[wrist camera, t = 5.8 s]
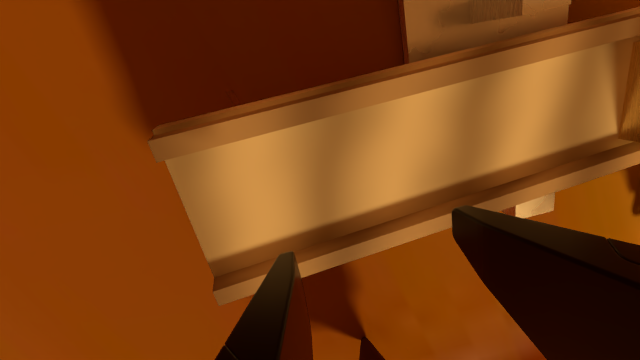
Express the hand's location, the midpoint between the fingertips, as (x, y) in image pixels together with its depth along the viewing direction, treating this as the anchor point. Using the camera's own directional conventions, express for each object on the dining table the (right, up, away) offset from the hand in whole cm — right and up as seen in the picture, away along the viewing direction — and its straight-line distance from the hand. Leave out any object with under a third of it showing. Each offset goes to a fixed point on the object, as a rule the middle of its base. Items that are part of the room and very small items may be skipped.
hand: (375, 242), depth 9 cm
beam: (+6, +4, +7) cm, 10 cm away
